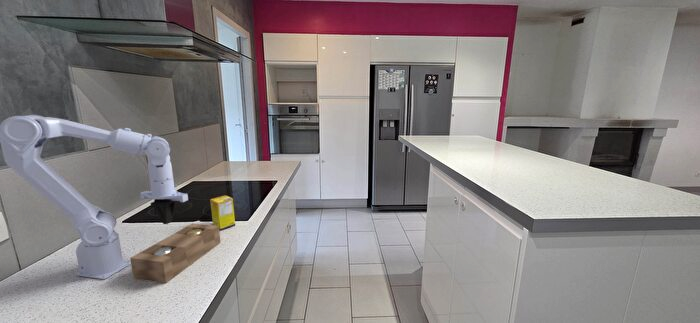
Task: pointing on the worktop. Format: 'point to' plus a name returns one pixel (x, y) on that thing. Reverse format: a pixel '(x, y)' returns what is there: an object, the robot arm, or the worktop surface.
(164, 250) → the steel peg
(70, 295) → the worktop surface
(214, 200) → the supplement box
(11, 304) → the worktop surface
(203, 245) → the walnut peg board
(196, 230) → the brass peg
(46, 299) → the worktop surface
